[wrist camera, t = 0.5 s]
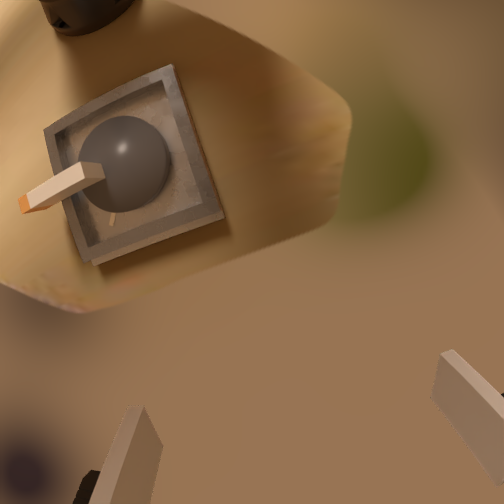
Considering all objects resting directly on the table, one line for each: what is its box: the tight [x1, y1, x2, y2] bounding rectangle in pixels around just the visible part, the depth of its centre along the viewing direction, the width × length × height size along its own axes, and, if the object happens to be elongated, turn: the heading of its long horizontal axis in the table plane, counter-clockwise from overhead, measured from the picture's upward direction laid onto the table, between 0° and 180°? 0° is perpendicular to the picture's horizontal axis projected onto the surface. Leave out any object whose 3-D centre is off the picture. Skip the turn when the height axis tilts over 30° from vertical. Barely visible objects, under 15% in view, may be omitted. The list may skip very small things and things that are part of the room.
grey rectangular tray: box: [43, 63, 225, 267], centre depth 32 cm, size 20×18×3 cm
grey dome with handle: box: [18, 116, 170, 214], centre depth 29 cm, size 17×11×7 cm, turn 108°
